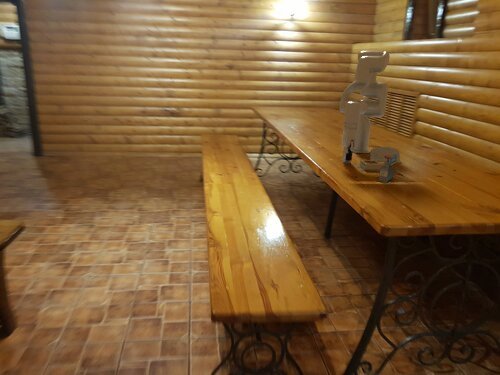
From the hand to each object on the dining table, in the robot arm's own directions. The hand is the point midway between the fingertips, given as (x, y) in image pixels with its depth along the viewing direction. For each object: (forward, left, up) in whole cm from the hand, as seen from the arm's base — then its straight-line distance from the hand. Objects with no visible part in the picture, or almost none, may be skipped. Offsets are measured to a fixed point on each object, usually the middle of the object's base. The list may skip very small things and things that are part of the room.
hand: (347, 158), depth 206 cm
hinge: (-7, +24, -4) cm, 25 cm away
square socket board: (+11, +13, -2) cm, 17 cm away
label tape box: (+28, +11, -4) cm, 30 cm away
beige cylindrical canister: (0, 0, -3) cm, 3 cm away
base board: (+10, +12, -3) cm, 16 cm away
